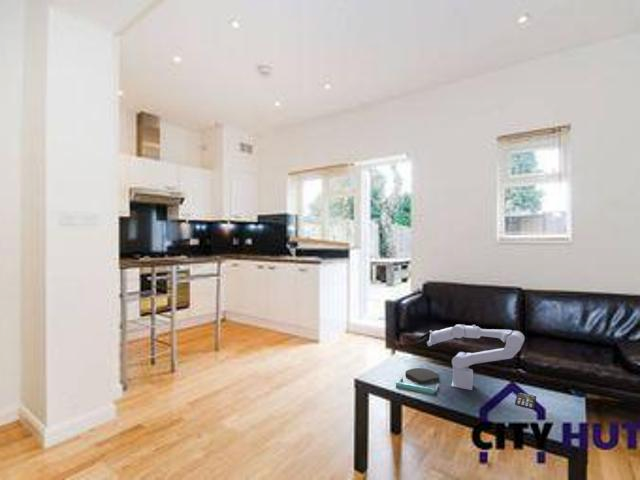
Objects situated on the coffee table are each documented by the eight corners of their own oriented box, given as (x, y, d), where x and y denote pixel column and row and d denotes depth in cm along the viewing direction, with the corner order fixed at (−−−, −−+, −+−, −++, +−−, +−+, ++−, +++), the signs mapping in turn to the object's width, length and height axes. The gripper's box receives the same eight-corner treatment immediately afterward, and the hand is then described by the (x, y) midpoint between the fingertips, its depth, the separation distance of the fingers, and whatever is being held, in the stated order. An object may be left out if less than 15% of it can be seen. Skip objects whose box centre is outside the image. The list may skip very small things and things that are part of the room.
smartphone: (536, 396, 162) (534, 408, 149) (536, 397, 162) (534, 410, 149) (518, 391, 166) (514, 404, 154) (518, 393, 166) (514, 405, 154)
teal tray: (438, 387, 172) (438, 382, 172) (435, 395, 163) (435, 390, 163) (400, 379, 180) (400, 375, 180) (395, 387, 171) (395, 382, 171)
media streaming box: (402, 375, 187) (402, 370, 187) (423, 371, 193) (423, 365, 193) (420, 386, 173) (420, 380, 173) (442, 381, 180) (442, 375, 180)
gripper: (441, 323, 185) (419, 329, 193) (434, 334, 173) (411, 340, 181) (448, 335, 185) (425, 341, 192) (441, 347, 173) (417, 353, 180)
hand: (419, 341), depth 187 cm, fingers open, 7 cm apart
